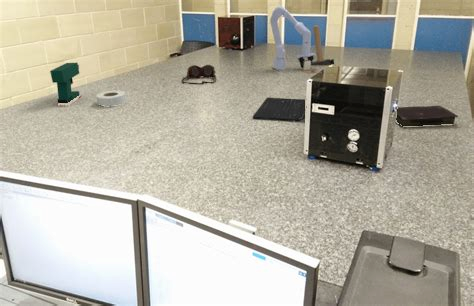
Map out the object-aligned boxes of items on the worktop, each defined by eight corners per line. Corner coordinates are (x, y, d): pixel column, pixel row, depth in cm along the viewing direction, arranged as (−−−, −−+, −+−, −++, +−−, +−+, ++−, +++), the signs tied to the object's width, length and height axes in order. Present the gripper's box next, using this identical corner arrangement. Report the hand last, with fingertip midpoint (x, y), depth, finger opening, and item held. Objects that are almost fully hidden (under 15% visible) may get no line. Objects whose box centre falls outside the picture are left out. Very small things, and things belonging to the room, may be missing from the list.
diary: (386, 116, 196) (388, 106, 194) (437, 114, 196) (439, 104, 194) (402, 129, 179) (403, 118, 177) (457, 127, 179) (459, 116, 177)
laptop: (267, 100, 226) (266, 66, 218) (335, 104, 215) (337, 68, 207) (251, 119, 197) (251, 80, 189) (329, 125, 186) (332, 84, 178)
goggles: (183, 86, 259) (182, 70, 255) (178, 78, 279) (177, 64, 276) (220, 83, 265) (220, 68, 261) (212, 76, 285) (212, 62, 282)
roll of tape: (99, 109, 219) (97, 99, 217) (96, 102, 232) (94, 92, 230) (128, 105, 225) (127, 95, 222) (124, 98, 238) (122, 89, 236)
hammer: (307, 69, 301) (301, 29, 290) (307, 68, 306) (301, 28, 295) (334, 65, 296) (329, 23, 285) (334, 63, 301) (329, 22, 290)
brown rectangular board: (295, 70, 290) (295, 64, 289) (309, 68, 295) (309, 62, 293) (308, 75, 275) (309, 69, 273) (323, 73, 279) (324, 67, 278)
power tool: (78, 91, 255) (72, 59, 247) (89, 91, 255) (83, 59, 247) (56, 106, 226) (48, 71, 218) (68, 106, 226) (61, 70, 218)
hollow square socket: (300, 68, 290) (301, 60, 287) (306, 67, 292) (306, 59, 289) (304, 69, 286) (304, 61, 283) (310, 69, 287) (310, 60, 285)
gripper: (300, 50, 277) (299, 69, 282) (318, 48, 282) (317, 67, 287) (295, 48, 283) (294, 67, 288) (312, 46, 288) (311, 65, 293)
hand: (305, 67), depth 288 cm, fingers open, 5 cm apart
